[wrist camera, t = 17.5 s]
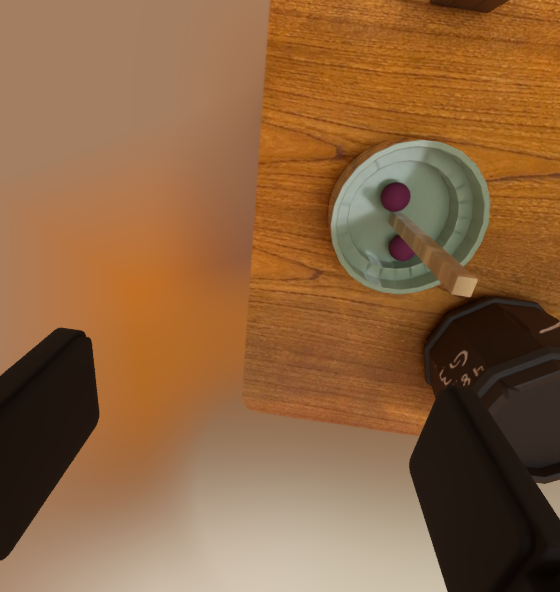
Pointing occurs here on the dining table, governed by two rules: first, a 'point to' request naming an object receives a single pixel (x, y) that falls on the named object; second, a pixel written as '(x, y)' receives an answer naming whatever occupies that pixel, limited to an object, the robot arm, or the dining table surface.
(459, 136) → the dining table surface
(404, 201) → the ball
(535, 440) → the wooden barrel
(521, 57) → the dining table surface
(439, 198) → the bowl
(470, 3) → the holder
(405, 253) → the ball
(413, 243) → the stick
